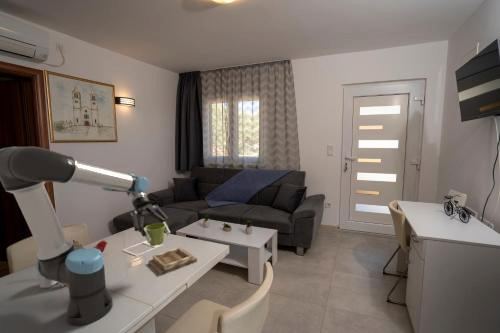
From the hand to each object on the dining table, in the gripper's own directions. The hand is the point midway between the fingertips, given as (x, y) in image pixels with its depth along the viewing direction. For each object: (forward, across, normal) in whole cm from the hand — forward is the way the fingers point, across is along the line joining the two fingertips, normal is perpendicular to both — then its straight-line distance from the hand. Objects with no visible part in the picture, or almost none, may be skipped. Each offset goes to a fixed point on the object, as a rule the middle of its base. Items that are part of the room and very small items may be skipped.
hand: (159, 237), depth 120 cm
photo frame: (-13, -11, -41) cm, 44 cm away
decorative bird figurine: (-18, +16, -45) cm, 51 cm away
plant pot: (+1, 0, -5) cm, 5 cm away
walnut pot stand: (+9, -10, -18) cm, 23 cm away
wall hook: (-9, +34, -36) cm, 50 cm away
